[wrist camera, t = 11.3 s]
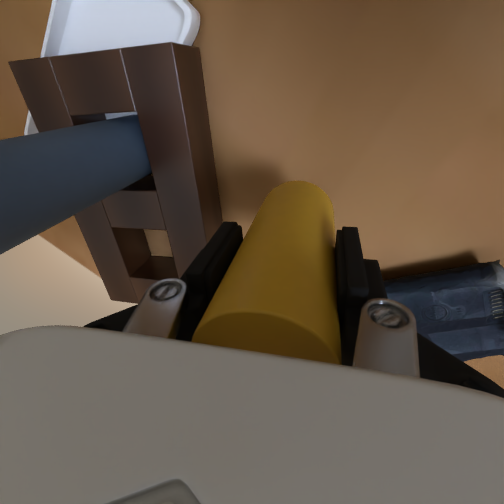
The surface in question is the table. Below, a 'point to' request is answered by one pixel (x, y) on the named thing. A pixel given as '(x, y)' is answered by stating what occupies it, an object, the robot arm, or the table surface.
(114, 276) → the stand
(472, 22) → the table surface
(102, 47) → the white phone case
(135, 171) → the blue peg
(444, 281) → the electronic device
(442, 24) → the table surface
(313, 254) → the mustard peg
